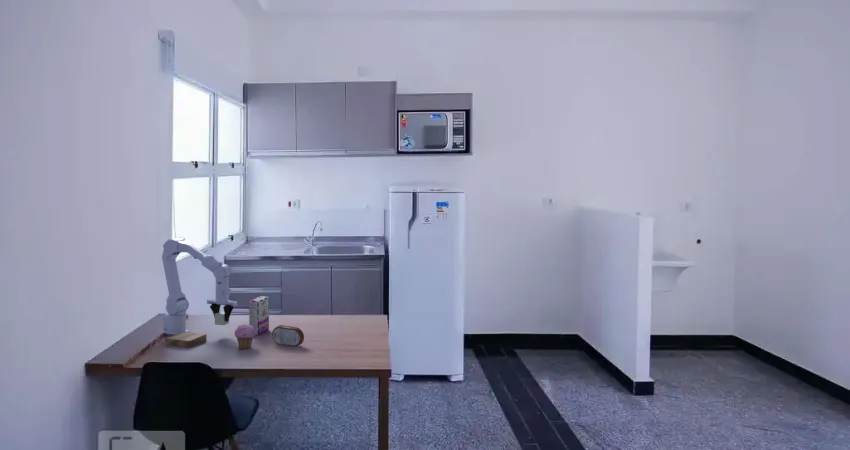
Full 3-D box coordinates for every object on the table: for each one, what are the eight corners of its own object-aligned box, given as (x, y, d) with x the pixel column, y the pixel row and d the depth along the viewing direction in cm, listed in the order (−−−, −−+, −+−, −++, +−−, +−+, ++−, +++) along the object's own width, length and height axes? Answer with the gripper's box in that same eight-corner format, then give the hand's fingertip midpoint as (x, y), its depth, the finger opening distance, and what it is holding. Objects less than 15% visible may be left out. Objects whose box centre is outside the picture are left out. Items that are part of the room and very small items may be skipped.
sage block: (214, 324, 278) (214, 313, 278) (220, 322, 283) (220, 311, 282) (223, 325, 277) (223, 314, 277) (229, 323, 282) (229, 312, 281)
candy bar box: (259, 329, 295) (259, 295, 294) (269, 330, 294) (269, 296, 293) (248, 335, 284) (248, 300, 283) (258, 336, 283) (258, 301, 282)
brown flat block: (165, 345, 264) (165, 338, 263) (182, 338, 275) (182, 331, 275) (189, 348, 261) (189, 341, 260) (206, 340, 272) (206, 334, 272)
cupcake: (233, 345, 267) (234, 322, 266) (254, 344, 270) (254, 321, 269) (235, 351, 259) (235, 327, 258) (256, 349, 262) (256, 326, 261)
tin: (304, 346, 269) (304, 327, 269) (300, 348, 266) (300, 329, 266) (274, 342, 274) (275, 323, 273) (270, 344, 271) (271, 325, 270)
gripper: (241, 291, 281) (240, 320, 282) (213, 288, 284) (213, 317, 286) (232, 293, 274) (232, 323, 275) (204, 291, 278) (204, 320, 279)
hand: (221, 320), depth 280 cm, fingers closed on sage block, 4 cm apart
